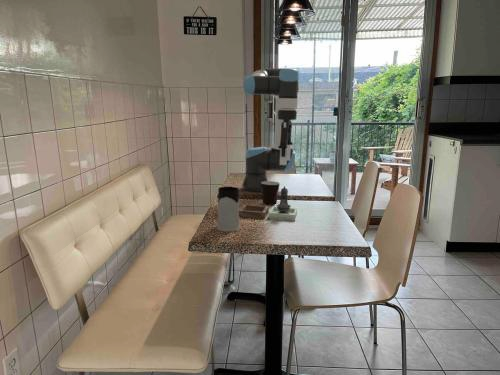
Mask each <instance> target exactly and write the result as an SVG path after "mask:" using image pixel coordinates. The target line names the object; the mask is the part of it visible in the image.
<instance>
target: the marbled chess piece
mask: <svg viewBox="0 0 500 375" xmlns="http://www.w3.org/2000/svg"><path fill="white" fill-rule="evenodd" d="M288 193H289V191H288V188H286V186H285V185H284V186H283V188H281V189H280V196H279V199H280V200H279V203H278V204H276V207H277V208H278V210H279V211H280V212H278V213H282V214H289V213H288V211H289V209H290V208H292V207H291V205H290V204H289V202H288V201H289V200H288V199H289V196H288Z"/></svg>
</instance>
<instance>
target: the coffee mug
mask: <svg viewBox="0 0 500 375" xmlns="http://www.w3.org/2000/svg"><path fill="white" fill-rule="evenodd" d="M261 185H262V191H261V194H262V195H261V197H262V204H263V205H265V204H266V205H265V206H275V204H276V205H277V202H278V196H279V190H280V185H281V184H280V182H278V181H271V180H268V181H264V182H261Z"/></svg>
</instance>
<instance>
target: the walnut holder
mask: <svg viewBox="0 0 500 375" xmlns="http://www.w3.org/2000/svg"><path fill="white" fill-rule="evenodd" d="M269 212H270V205H257V204H243V205H242V206H241V207H240V208H239V217H240V218H241V217H242V218H253V219H266V217H267V216H268V215H269Z"/></svg>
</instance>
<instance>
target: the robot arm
mask: <svg viewBox="0 0 500 375" xmlns="http://www.w3.org/2000/svg"><path fill="white" fill-rule="evenodd" d="M299 80H300V78H299V70H298V69H295V68H270V67H269V68H262V69H259V70H258V69H257V70H256V71H254V72H253V73H252V74H250V75H245V76H244V77H243V86H242V88H243V89H242V90H243V94H245V95H251V96H252V95H267V96H268V95H269V96H273V97H274V99H275V113H274V116H275V117H274V118H275V120H274V121H275V122H274V142H273V144H272V145H271V147H270V148H271V149H268V146H259V147H258V146H256V147H251V148H248V149H247V150H246V152H245V175H244V178H243V180H242V185H241V190H244V191H247V192H256V193H257V192H259V193H260V192H262V185H261V182H264V181H269V180H268V178H267V172H282V173H283V172H291V171H292V170H293V168H294V162H295V160H296V159H295V157H296V151H295V150H294V149H293V142H292V127H293V124H292V121H295V120H297V113H298V111H297V110H296V109H298V93H299V91H300V90H299V86H300V85H299Z"/></svg>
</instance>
